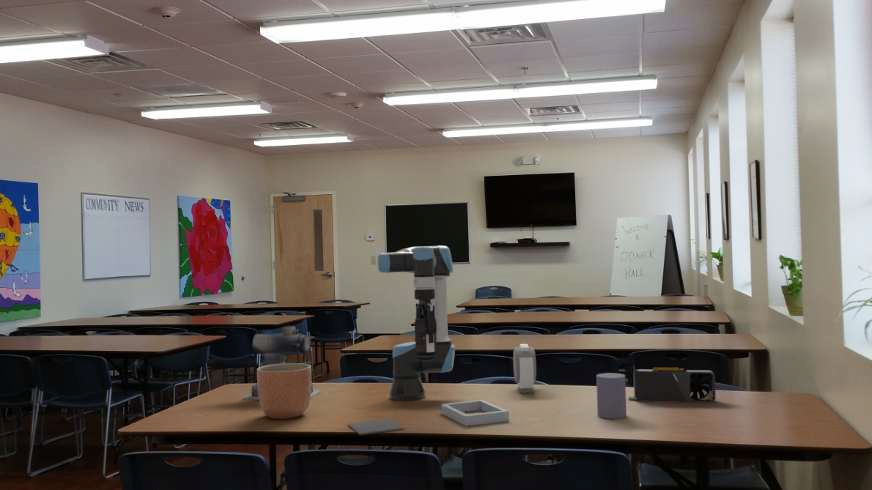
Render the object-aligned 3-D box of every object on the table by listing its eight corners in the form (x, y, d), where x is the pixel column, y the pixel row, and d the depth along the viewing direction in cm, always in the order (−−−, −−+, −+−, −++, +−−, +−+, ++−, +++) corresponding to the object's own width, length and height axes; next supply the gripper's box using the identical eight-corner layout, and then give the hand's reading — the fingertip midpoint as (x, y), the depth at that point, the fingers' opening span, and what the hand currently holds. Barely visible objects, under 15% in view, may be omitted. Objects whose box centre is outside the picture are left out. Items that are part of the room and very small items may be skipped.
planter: (253, 414, 297) (252, 366, 297) (305, 408, 305) (304, 361, 305) (263, 424, 278) (262, 373, 278) (318, 418, 286) (316, 368, 286)
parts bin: (441, 413, 288) (441, 404, 288) (482, 408, 294) (482, 399, 294) (465, 426, 266) (465, 416, 266) (509, 420, 272) (508, 411, 272)
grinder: (258, 391, 346) (256, 325, 346) (322, 392, 340) (320, 324, 340) (240, 399, 327) (238, 329, 328) (308, 400, 322) (306, 328, 322)
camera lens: (435, 361, 270) (434, 319, 270) (413, 361, 271) (412, 319, 271) (439, 357, 278) (438, 317, 278) (418, 357, 279) (417, 317, 279)
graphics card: (628, 401, 300) (627, 365, 300) (628, 399, 305) (627, 363, 305) (715, 403, 292) (715, 367, 292) (714, 401, 297) (713, 365, 297)
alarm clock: (537, 393, 320) (535, 346, 320) (517, 394, 320) (516, 347, 320) (532, 386, 338) (531, 341, 338) (513, 386, 338) (512, 342, 338)
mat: (347, 425, 273) (347, 423, 273) (389, 420, 278) (389, 418, 278) (359, 435, 258) (359, 433, 258) (403, 429, 263) (403, 427, 263)
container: (610, 420, 268) (609, 379, 268) (591, 415, 277) (590, 375, 277) (632, 417, 272) (631, 376, 273) (613, 412, 282) (612, 372, 282)
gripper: (405, 287, 283) (407, 348, 283) (424, 290, 264) (426, 354, 263) (424, 286, 286) (426, 346, 286) (444, 289, 266) (446, 353, 266)
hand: (426, 350), depth 275 cm, fingers closed on camera lens, 8 cm apart
